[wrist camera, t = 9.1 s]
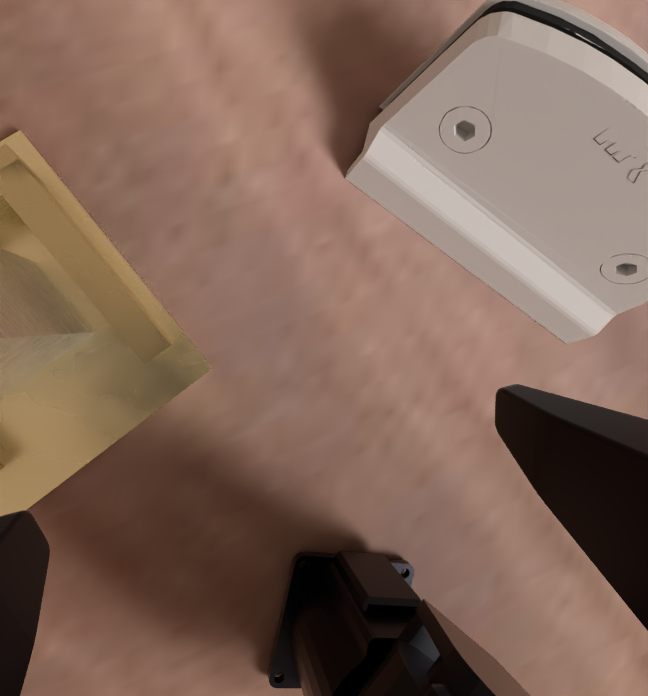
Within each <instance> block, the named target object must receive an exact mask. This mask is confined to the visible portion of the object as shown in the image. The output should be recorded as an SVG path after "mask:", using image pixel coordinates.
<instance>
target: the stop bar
mask: <svg viewBox="0 0 648 696" xmlns="http://www.w3.org/2000/svg"><path fill="white" fill-rule="evenodd" d="M95 332H96V331H95V330H94V329H93V328H92V327H91V325H90V324H89V323H88V322H87V321H86V320H85V319H84V317H83V316H82V315H81V314H80V313H79V312H78V310H77V309H76V308H75V307H74V306H73V305H72V303H71V302H70V301H69V300H68V299H67V298H66V296H65V295H64V294H63V293H62V292H61V291H60V290H59V288H58V287H57V286H56V285H55V284H54V283H53V281H52V280H51V279H50V278H49V277H48V276H47V274H46V273H45V272H44V271H43V270H42V269H41V267H40V266H39V265H38V264H37V263H36V262H34V261H31V260H29V259H26V258H24V257H21V256H19V255H16V254H13V253H11V252H8V251H6V250H3V249H1V248H0V399H1V398H2V397H4V396H5V395H6V394H8V393H9V392H11V391H12V390H14V389H15V388H16V387H18V386H19V385H21V384H22V383H24V382H25V381H26V380H28V379H29V378H31V377H32V376H34V375H35V374H36V373H38V372H39V371H41V370H42V369H44V368H45V367H46V366H48V365H49V364H51V363H52V362H53V361H55V360H56V359H58V358H59V357H61V356H62V355H63V354H65V353H66V352H68V351H69V350H71V349H72V348H73V347H75V346H76V345H78V344H79V343H81V342H82V341H83V340H85V339H86V338H88V337H89V336H90V335H92V334H93V333H95Z"/></svg>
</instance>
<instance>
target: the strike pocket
mask: <svg viewBox="0 0 648 696" xmlns="http://www.w3.org/2000/svg"><path fill="white" fill-rule="evenodd" d="M0 248H1V249H3V250H6V251H8V252H11V253H13V254H16V255H19V256H21V257H24V258H26V259H29V260H31V261H34V262H36V263H37V264H38V265H39V266H40V267H41V269H42V270H43V271H44V272H45V273H46V274H47V276H48V277H49V278H50V279H51V280H52V281H53V283H54V284H55V285H56V286H57V287H58V288H59V290H60V291H61V292H62V293H63V294H64V295H65V296H66V298H67V299H68V300H69V301H70V302H71V303H72V305H73V306H74V307H75V308H76V309H77V310H78V312H79V313H80V314H81V315H82V316H83V317H84V319H85V320H86V321H87V322H88V323H89V324H90V325H91V327H92V328H93V329H94V330H95V331H96V332H95V333H93V334H92V335H90V336H89V337H88V338H86V339H85V340H83V341H82V342H81V343H79V344H78V345H76V346H75V347H73V348H72V349H71V350H69V351H68V352H66V353H65V354H63V355H62V356H61V357H59V358H58V359H56V360H55V361H53V362H52V363H51V364H49V365H48V366H46V367H45V368H44V369H42V370H41V371H39V372H38V373H36V374H35V375H34V376H32V377H31V378H29V379H28V380H26V381H25V382H24V383H22V384H21V385H19V386H18V387H16V388H15V389H14V390H12V391H11V392H9V393H8V394H6V395H5V396H4V397H2V398H1V399H0V516H3V515H6V514H10V513H14V512H18V511H22V510H27V509H28V508H29V507H31V506H32V505H33V504H35V503H36V502H37V501H39V500H40V499H41V498H43V497H44V496H45V495H46V494H48V493H49V492H50V491H52V490H53V489H54V488H56V487H57V486H58V485H60V484H61V483H62V482H64V481H65V480H66V479H68V478H69V477H70V476H71V475H73V474H74V473H75V472H77V471H78V470H79V469H81V468H82V467H83V466H85V465H86V464H87V463H89V462H90V461H91V460H93V459H94V458H95V457H96V456H98V455H99V454H100V453H102V452H103V451H104V450H106V449H107V448H108V447H110V446H111V445H112V444H114V443H115V442H116V441H117V440H119V439H120V438H121V437H123V436H124V435H125V434H127V433H128V432H129V431H131V430H132V429H133V428H135V427H136V426H137V425H139V424H140V423H141V422H142V421H144V420H145V419H146V418H148V417H149V416H150V415H152V414H153V413H154V412H156V411H157V410H158V409H160V408H161V407H162V406H164V405H165V404H166V403H167V402H169V401H170V400H171V399H173V398H174V397H175V396H177V395H178V394H179V393H181V392H182V391H183V390H185V389H186V388H187V387H189V386H190V385H191V384H192V383H194V382H195V381H196V380H198V379H199V378H200V377H202V376H203V375H204V374H206V373H207V372H208V371H210V370H211V369H212V367H211V365H210V364H209V363H208V362H207V361H206V359H205V358H204V357H203V356H202V354H201V353H200V352H199V351H198V349H197V348H196V347H195V346H194V344H193V343H192V342H191V341H190V339H189V338H188V337H187V336H186V334H185V333H184V332H183V331H182V330H181V328H180V327H179V326H178V325H177V323H176V322H175V321H174V320H173V318H172V317H171V316H170V315H169V313H168V312H167V311H166V310H165V308H164V307H163V306H162V305H161V304H160V302H159V301H158V300H157V299H156V297H155V296H154V295H153V294H152V292H151V291H150V290H149V289H148V287H147V286H146V285H145V284H144V282H143V281H142V280H141V279H140V277H139V276H138V275H137V274H136V273H135V271H134V270H133V269H132V268H131V266H130V265H129V264H128V263H127V261H126V260H125V259H124V258H123V256H122V255H121V254H120V253H119V251H118V250H117V249H116V248H115V246H114V245H113V244H112V243H111V242H110V240H109V239H108V238H107V237H106V235H105V234H104V233H103V232H102V230H101V229H100V228H99V227H98V225H97V224H96V223H95V222H94V220H93V219H92V218H91V217H90V215H89V214H88V213H87V212H86V211H85V209H84V208H83V207H82V206H81V204H80V203H79V202H78V201H77V199H76V198H75V197H74V196H73V194H72V193H71V192H70V191H69V189H68V188H67V187H66V186H65V184H64V183H63V182H62V181H61V180H60V178H59V177H58V176H57V175H56V173H55V172H54V171H53V170H52V168H51V167H50V166H49V165H48V163H47V162H46V161H45V160H44V158H43V157H42V156H41V155H40V153H39V152H38V151H37V150H36V149H35V147H34V146H33V145H32V144H31V142H30V141H29V140H28V139H27V137H26V136H25V135H24V134H23V133H22V131H21V130H19V131H18V132H16V133H14V134H12V135H11V136H9V137H7V138H5V139H4V140H2V141H0Z"/></svg>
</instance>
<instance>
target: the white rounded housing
mask: <svg viewBox="0 0 648 696" xmlns="http://www.w3.org/2000/svg"><path fill="white" fill-rule="evenodd" d="M379 107H380V108H381V109H382V110H383V111H382V112H381V113H380V114H379V115H378V116H377V117H376V118H375V119H374V120H373V121H372V122H371V123H370V124H369V128H368V132H367V136H366V140H365V144H364V148H363V151H362V153H361V154H360V155H359V157H358V158H357V159H356V160H355V162H354V163H353V164H352V165H351V167H350V168H349V169H348V171H347V174H346V177H345V179H346V180H348V181H349V182H350V183H352V184H353V185H354V186H356V187H357V188H358V189H360V190H361V191H362V192H364V193H365V194H366V195H368V196H369V197H370V198H372V199H373V200H374V201H376V202H377V203H378V204H380V205H381V206H382V207H384V208H385V209H386V210H388V211H389V212H390V213H392V214H393V215H394V216H396V217H397V218H399V219H400V220H401V221H403V222H404V223H405V224H407V225H408V226H409V227H411V228H412V229H413V230H415V231H416V232H417V233H419V234H420V235H421V236H423V237H424V238H425V239H427V240H428V241H429V242H431V243H432V244H433V245H435V246H436V247H437V248H439V249H440V250H441V251H443V252H444V253H445V254H447V255H448V256H449V257H451V258H452V259H453V260H455V261H456V262H457V263H459V264H460V265H461V266H463V267H464V268H465V269H467V270H468V271H469V272H471V273H472V274H473V275H475V276H476V277H477V278H479V279H480V280H481V281H483V282H484V283H485V284H487V285H488V286H489V287H491V288H492V289H493V290H495V291H496V292H498V293H499V294H500V295H502V296H503V297H504V298H506V299H507V300H508V301H510V302H511V303H512V304H514V305H515V306H516V307H518V308H519V309H520V310H522V311H523V312H524V313H526V314H527V315H528V316H530V317H531V318H532V319H534V320H535V321H536V322H538V323H539V324H540V325H542V326H543V327H544V328H546V329H547V330H548V331H550V332H551V333H552V334H554V335H555V336H556V337H558V338H559V339H560V340H562V341H563V342H564V343H566V344H568V343H572V342H575V341H579V340H582V339H586V338H589V337H592V336H594V335H596V334H597V333H598V332H599V331H600V330H601V329H602V328H603V327H604V326H605V325H606V324H607V323H608V322H609V321H610V320H611V319H612V318H613V317H614V316H615V315H617V314H619V313H622V312H624V311H626V310H629V309H631V308H633V307H636V306H638V305H641V304H643V303H645V302H648V53H646V52H645V51H644V50H643V49H642V48H640V47H639V46H638V45H637V44H635V43H634V42H633V41H632V40H630V39H629V38H627V37H626V36H625V35H623V34H622V33H620V32H619V31H617V30H616V29H614V28H613V27H611V26H610V25H608V24H606V23H605V22H603V21H601V20H599V19H598V18H596V17H594V16H592V15H590V14H589V13H587V12H585V11H583V10H582V9H580V8H577V7H575V6H573V5H571V4H568V3H566V2H564V1H562V0H487V1H486V2H484V3H483V4H482V5H481V6H480V7H479V8H478V9H477V10H476V11H475V12H474V13H473V14H472V15H471V16H470V17H469V18H468V19H467V20H466V21H465V22H464V23H463V24H462V25H461V26H460V27H459V28H458V29H457V30H456V31H455V32H454V33H453V34H452V35H451V36H450V37H449V38H448V39H447V40H446V41H445V42H444V43H443V44H442V45H441V46H440V47H439V48H438V49H437V50H436V51H435V52H434V53H433V54H432V55H431V56H430V57H429V58H428V59H427V60H426V61H425V62H424V63H423V64H421V65H420V66H419V67H418V68H417V69H416V70H415V71H414V72H413V73H412V74H411V75H410V76H409V77H408V78H407V79H406V80H405V81H404V82H403V83H402V84H401V85H400V86H399V87H398V88H397V89H396V90H395V91H394V92H393V93H392V94H391V95H390V96H389V97H388V98H387V99H386V100H385V101H384V102H383V103H382V104H381V105H380V106H379Z"/></svg>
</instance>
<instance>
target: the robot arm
mask: <svg viewBox="0 0 648 696" xmlns="http://www.w3.org/2000/svg"><path fill="white" fill-rule="evenodd" d="M495 426H496V429H497V432H498V434H499V435H500V437H501V438H502V440H503V442H504V443H505V445H506V446H507V448H508V449H509V451H510V452H511V454H512V455H513V457H514V458H515V460H516V462H517V463H518V465H519V466H520V468H521V469H522V471H523V472H524V474H525V475H526V477H527V479H528V480H529V482H530V483H531V485H532V486H533V488H534V489H535V490H536V492H537V493H538V495H539V496H540V497H541V499H542V500H543V501H544V503H545V504H546V505H547V506H548V508H549V509H550V510H551V511H552V513H553V514H554V515H555V516H556V518H557V519H558V520H559V521H560V522H561V524H562V525H563V526H564V527H565V529H566V530H567V531H568V532H569V534H570V535H571V536H572V537H573V539H574V540H575V541H576V542H577V544H578V545H579V546H580V547H581V549H582V550H583V551H584V552H585V553H586V555H587V556H588V557H589V558H590V560H591V561H592V562H593V563H594V565H595V566H596V567H597V568H598V570H599V571H600V572H601V573H602V575H603V576H604V577H605V578H606V580H607V581H608V582H609V583H610V584H611V586H612V587H613V588H614V589H615V591H616V592H617V593H618V594H619V596H620V597H621V598H622V599H623V601H624V602H625V603H626V604H627V606H628V607H629V608H630V609H631V611H632V612H633V613H634V614H635V616H636V617H637V618H638V619H639V620H640V622H641V623H642V624H643V625H644V627H645V628H646V629H647V630H648V420H647V419H643V418H640V417H636V416H632V415H629V414H625V413H621V412H618V411H614V410H610V409H607V408H603V407H600V406H596V405H592V404H589V403H585V402H581V401H578V400H574V399H570V398H567V397H563V396H559V395H556V394H552V393H548V392H545V391H541V390H537V389H534V388H530V387H527V386H523V385H519V384H514V385H510V386H506V387H503V388H500V389H499V390H498V391H497V393H496V402H495ZM49 555H50V549H49V544H48V542H47V540H46V538H45V536H44V534H43V533H42V531H41V529H40V528H39V526H38V524H37V522H36V521H35V519H34V517H33V516H32V514H31V513H30V512H28V511H25V510H22V511H18V512H14V513H10V514H6V515H3V516H0V696H20V693H21V690H22V686H23V683H24V679H25V676H26V672H27V668H28V665H29V661H30V658H31V654H32V650H33V646H34V642H35V637H36V632H37V626H38V621H39V615H40V609H41V603H42V597H43V591H44V585H45V580H46V574H47V568H48V562H49ZM305 560H306V561H307V564H306V565H305V566H302V567H301V566H299V565H300V563H301V562H302V561H305ZM404 569H406V571H405V573H404V574H401V572H402V570H404ZM413 576H414V569H413V567H412V566H411V565H410V564H409V563H408V562H407V561H405V560H396V559H387V558H386V556H385V555H382V554H372V553H360V552H349V551H340V552H338V553H336V554H328V553H316V552H305V551H304V552H300V553H298V554H297V555H296V556H295V557H294V559H293V562H292V566H291V571H290V575H289V580H288V584H287V589H286V593H285V598H284V602H283V607H282V611H281V616H280V620H279V625H278V629H277V634H276V638H275V643H274V647H273V652H272V656H271V661H270V665H269V670H268V678H269V683H270V685H271V686H272V687H274V688H302V691H303V695H304V696H530V695H529V694H528V693H527V692H526V691H525V690H524V689H523V688H522V687H521V685H520V684H519V683H518V682H517V681H516V680H515V679H514V678H513V677H512V676H511V675H510V674H509V673H508V672H507V671H506V670H505V669H504V668H503V667H502V666H501V665H500V663H499V662H498V661H497V660H496V659H495V658H493V657H492V656H491V655H490V654H489V653H488V652H486V651H485V650H484V649H483V648H482V647H480V646H479V645H478V644H477V643H476V642H475V641H473V640H472V639H471V638H470V637H469V636H467V635H466V634H465V633H464V632H463V631H462V630H460V629H459V628H458V627H457V626H456V625H454V624H453V623H452V622H451V621H450V620H449V619H447V618H446V617H445V616H444V615H443V614H441V613H440V612H439V611H438V610H437V609H436V608H434V607H433V606H432V605H431V604H430V603H428V602H427V601H426V600H425V599H423V600H422V601H421V599H420V598H419V597H418V595H417V594H416V593H415V592H414V591H413V589H412V588H411V585H412V580H413ZM278 673H282V675H281V676H279V677H275V675H277V674H278Z"/></svg>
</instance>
